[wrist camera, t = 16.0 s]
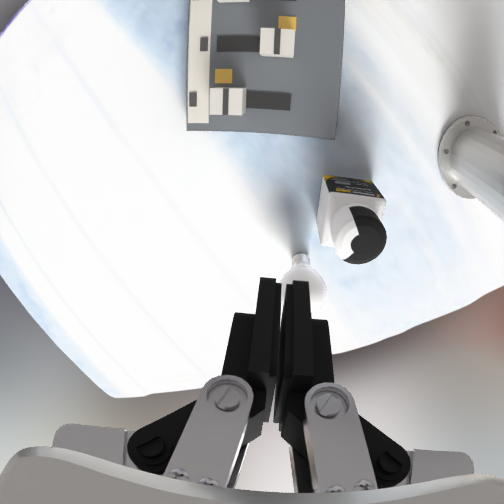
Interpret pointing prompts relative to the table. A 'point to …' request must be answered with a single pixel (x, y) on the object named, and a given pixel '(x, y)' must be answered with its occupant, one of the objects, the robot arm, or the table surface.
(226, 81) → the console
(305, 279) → the lightbulb
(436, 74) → the table surface
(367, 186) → the medicine bottle
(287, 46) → the switch
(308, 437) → the robot arm
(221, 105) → the switch
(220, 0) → the switch
